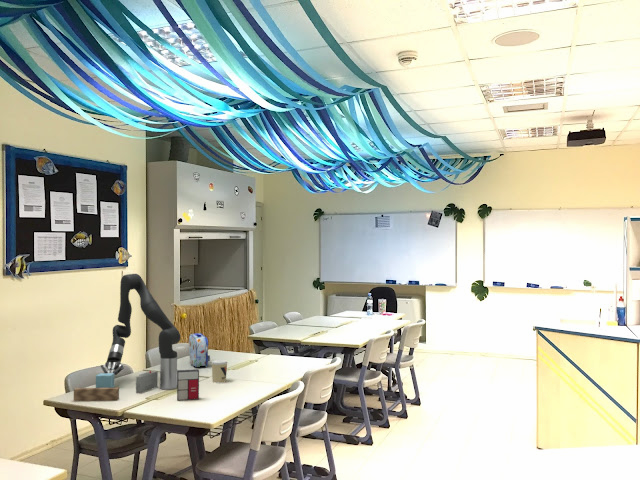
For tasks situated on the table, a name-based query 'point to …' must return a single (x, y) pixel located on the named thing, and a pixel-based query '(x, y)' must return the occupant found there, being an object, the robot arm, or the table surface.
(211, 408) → the table surface
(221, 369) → the coffee cup
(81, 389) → the wall
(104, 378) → the sliding block
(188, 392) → the gray and red box
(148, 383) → the cassette player
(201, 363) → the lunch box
